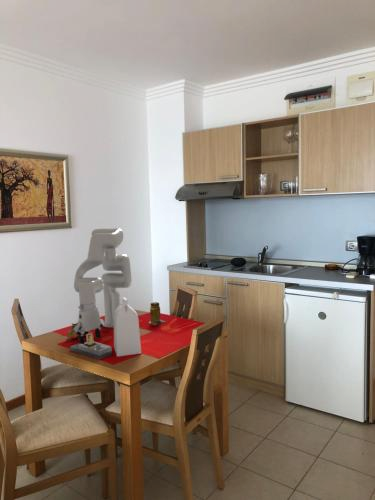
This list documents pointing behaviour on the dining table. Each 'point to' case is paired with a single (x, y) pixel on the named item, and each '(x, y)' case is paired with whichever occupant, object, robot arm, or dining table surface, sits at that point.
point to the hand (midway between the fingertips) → (90, 340)
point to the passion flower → (74, 331)
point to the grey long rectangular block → (93, 350)
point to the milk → (126, 330)
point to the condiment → (155, 314)
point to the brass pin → (90, 340)
